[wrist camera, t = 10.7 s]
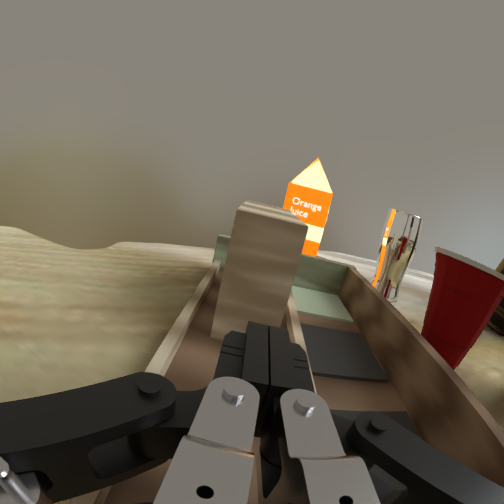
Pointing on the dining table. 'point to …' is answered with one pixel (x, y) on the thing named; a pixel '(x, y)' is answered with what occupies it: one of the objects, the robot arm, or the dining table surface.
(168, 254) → the dining table surface
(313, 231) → the orange juice
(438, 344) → the plastic cup
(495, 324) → the ceramic jug
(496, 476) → the board
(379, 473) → the pads
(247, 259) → the beech block
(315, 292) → the pad
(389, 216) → the beer glass
